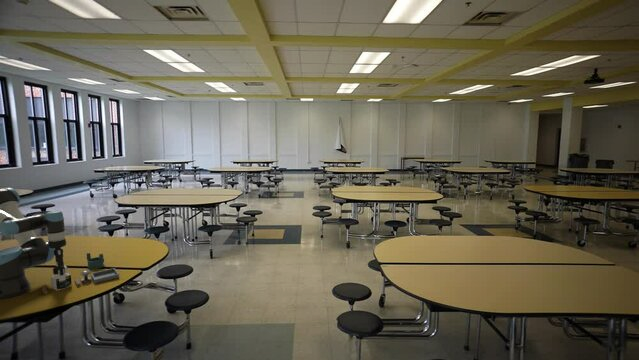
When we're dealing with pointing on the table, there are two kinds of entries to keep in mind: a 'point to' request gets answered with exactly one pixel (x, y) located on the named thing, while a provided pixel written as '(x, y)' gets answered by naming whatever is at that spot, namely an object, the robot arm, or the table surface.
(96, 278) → the tray
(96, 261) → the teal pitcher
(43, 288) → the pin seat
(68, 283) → the medicine bottle
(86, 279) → the knob
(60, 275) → the robot arm
